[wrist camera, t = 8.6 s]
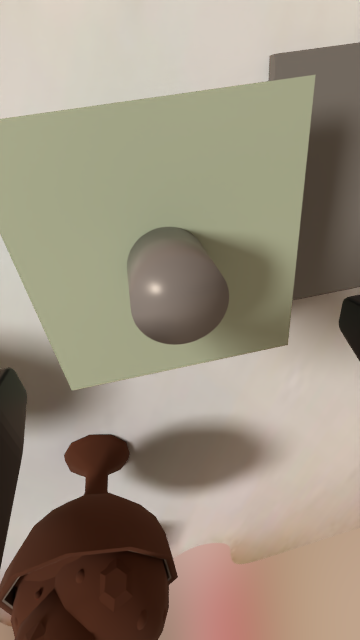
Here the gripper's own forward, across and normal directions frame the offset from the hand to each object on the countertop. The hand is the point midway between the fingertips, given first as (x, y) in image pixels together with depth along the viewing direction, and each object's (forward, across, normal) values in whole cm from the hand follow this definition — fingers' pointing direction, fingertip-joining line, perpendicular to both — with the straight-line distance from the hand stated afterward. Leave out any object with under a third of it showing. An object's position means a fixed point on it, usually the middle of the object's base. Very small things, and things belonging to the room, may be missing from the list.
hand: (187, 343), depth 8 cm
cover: (+6, 0, 0) cm, 6 cm away
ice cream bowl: (+11, +8, +19) cm, 23 cm away
